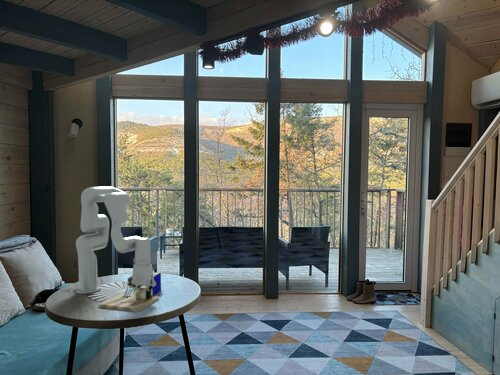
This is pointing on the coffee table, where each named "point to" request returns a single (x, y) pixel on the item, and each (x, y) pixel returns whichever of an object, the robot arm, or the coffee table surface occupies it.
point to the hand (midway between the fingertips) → (143, 297)
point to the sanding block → (142, 293)
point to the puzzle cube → (158, 284)
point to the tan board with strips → (127, 303)
